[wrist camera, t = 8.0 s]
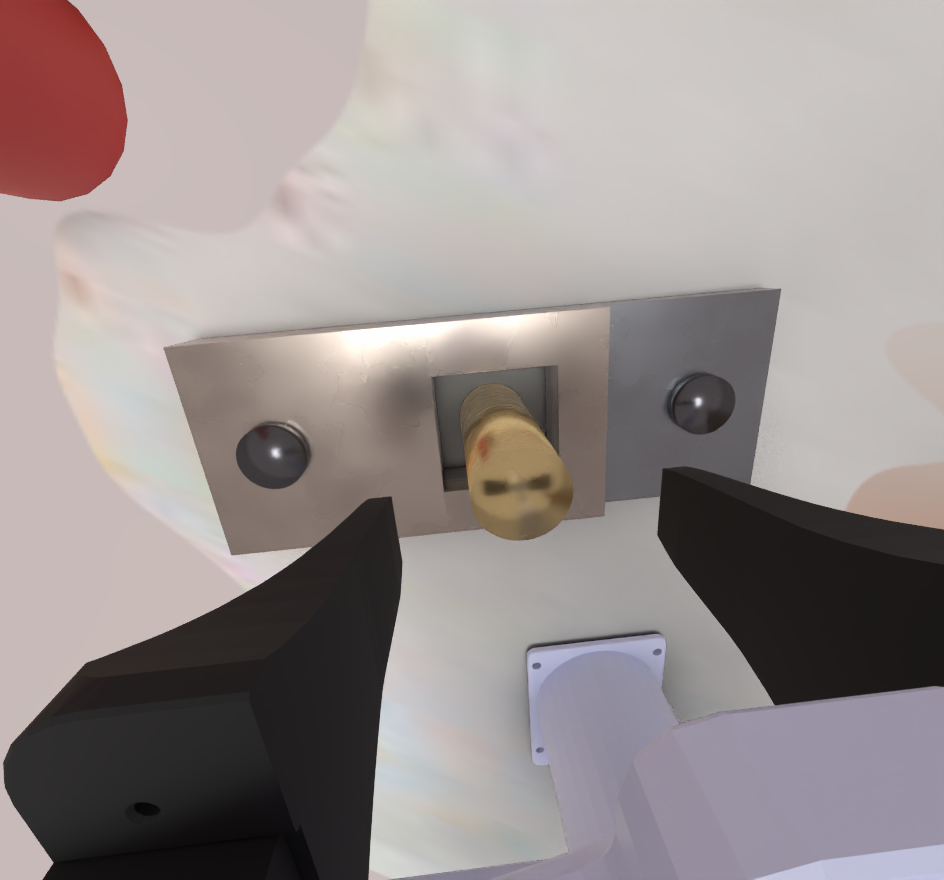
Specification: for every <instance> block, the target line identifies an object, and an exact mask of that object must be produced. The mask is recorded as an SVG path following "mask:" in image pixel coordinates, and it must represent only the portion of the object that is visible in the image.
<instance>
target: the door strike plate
mask: <svg viewBox="0 0 944 880" xmlns="http://www.w3.org/2000/svg"><path fill="white" fill-rule="evenodd" d="M780 293H781V289H771V288H758V289H746V290H735V291H724V292H713V293H702V294H691V295H680V296H669V297H658V298H647V299H636V300H624V301H613V302H602V303H591V304H580V305H569V306H558V307H547V308H536V309H525V310H514V311H502V312H491V313H480V314H469V315H458V316H447V317H436V318H425V319H414V320H403V321H392V322H380V323H369V324H358V325H347V326H336V327H325V328H314V329H303V330H292V331H281V332H270V333H259V334H247V335H236V336H225V337H214V338H203V339H196V340H192V341H188V342H184V343H180V344H176V345H172V346H168V347H164V351H165V354H166V357H167V360H168V363H169V366H170V369H171V372H172V375H173V378H174V381H175V384H176V387H177V390H178V393H179V396H180V400H181V403H182V406H183V409H184V412H185V415H186V418H187V421H188V424H189V427H190V430H191V433H192V436H193V439H194V442H195V445H196V448H197V451H198V454H199V457H200V461H201V464H202V467H203V470H204V473H205V476H206V479H207V482H208V485H209V488H210V491H211V494H212V497H213V500H214V503H215V506H216V509H217V512H218V515H219V518H220V522H221V525H222V528H223V531H224V534H225V537H226V540H227V543H228V546H229V549H230V552H231V555H240V554H249V553H259V552H268V551H277V550H287V549H296V548H306V547H313V546H315V545H316V544H317V543H318V542H320V541H321V540H322V539H323V538H325V537H326V536H327V535H328V534H329V533H330V532H332V531H333V530H334V529H335V528H336V527H337V526H338V525H339V524H340V523H341V522H343V521H344V520H345V519H346V518H347V517H348V516H349V515H350V514H351V513H352V512H353V511H354V510H356V509H357V508H358V507H359V506H360V505H361V504H362V503H363V502H364V501H366V500H367V499H370V498H380V497H389V496H392V502H393V508H394V514H395V521H396V527H397V533H398V538H400V537H410V536H419V535H429V534H438V533H448V532H457V531H467V530H476V529H485V528H484V527H483V526H482V525H481V524H480V523H479V522H478V520H477V519H476V517H475V515H474V513H473V510H472V506H471V501H470V493H469V485H468V477H467V469H466V467H460V468H450V469H444V467H443V459H442V450H441V441H440V433H439V424H438V415H437V406H436V398H435V389H434V380H433V377H436V376H446V375H457V374H467V373H478V372H489V371H499V370H510V369H520V368H531V367H542V366H545V390H546V433H547V439H548V441H549V442H550V444H551V445H552V447H553V448H554V450H555V451H556V453H557V454H558V456H559V457H560V459H561V460H562V462H563V463H564V465H565V466H566V468H567V469H568V471H569V473H570V475H571V478H572V482H573V500H572V503H571V506H570V508H569V511H568V513H567V514H566V516H565V517H564V519H563V520H571V519H580V518H589V517H599V516H604V507H605V502H610V501H620V500H629V499H639V498H648V497H658V496H660V495H661V482H662V469H663V468H672V467H682V466H687V467H693V468H697V469H701V470H705V471H708V472H712V473H715V474H718V475H721V476H725V477H728V478H731V479H734V480H737V481H740V482H743V483H746V484H749V485H750V482H751V476H752V469H753V463H754V457H755V450H756V444H757V438H758V432H759V425H760V419H761V413H762V406H763V400H764V394H765V388H766V381H767V375H768V369H769V362H770V356H771V350H772V343H773V337H774V331H775V325H776V318H777V312H778V306H779V299H780Z"/></svg>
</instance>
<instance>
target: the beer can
mask: <svg viewBox="0 0 944 880" xmlns="http://www.w3.org/2000/svg"><path fill="white" fill-rule="evenodd" d="M126 128H127V114H126V108H125V102H124V95H123V89H122V84H121V82H120V80H119V78H118V75H117V73H116V71H115V69H114V66H113V64H112V61H111V59H110V57H109V55H108V52H107V50H106V48H105V46H104V44H103V43H102V41H101V40H100V39H99V37H98V36H97V35H96V33H95V32H94V31H93V29H92V28H91V26H90V25H89V24H88V22H87V21H86V20H85V18H84V17H83V16H82V14H81V13H80V11H79V10H78V9H77V8H76V7H75V6H73V5H72V4H71V3H70V2H69V1H68V0H0V193H3V194H8V195H13V196H19V197H24V198H29V199H40V200H51V201H63V200H66V199H70V198H74V197H78V196H81V195H85V194H88V193H90V192H91V191H92V190H93V189H95V188H96V187H97V186H98V185H100V184H101V183H102V182H103V181H105V180H106V179H107V178H108V177H110V176H111V174H112V172H113V170H114V168H115V166H116V164H117V163H118V161H119V159H120V157H121V155H122V153H123V151H124V143H125V136H126Z"/></svg>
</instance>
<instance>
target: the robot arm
mask: <svg viewBox="0 0 944 880" xmlns="http://www.w3.org/2000/svg"><path fill="white" fill-rule="evenodd" d="M657 535H658V537H659V539H660V541H661V542H662V544H663V546H664V548H665V550H666V552H667V553H668V555H669V557H670V558H671V560H672V562H673V563H674V565H675V567H676V568H677V569H678V571H679V572H680V573H681V574H682V576H683V577H684V578H685V580H686V581H687V582H688V584H689V585H690V586H691V587H692V589H693V590H694V591H695V593H696V594H697V595H698V596H699V598H700V599H701V600H702V601H703V603H704V604H705V605H706V606H707V608H708V609H709V610H710V611H711V613H712V614H713V615H714V616H715V618H716V619H717V620H718V622H719V623H720V624H721V625H722V627H723V628H724V629H725V630H726V632H727V633H728V634H729V635H730V637H731V638H732V640H733V641H734V642H735V644H736V645H737V646H738V648H739V649H740V651H741V652H742V654H743V655H744V657H745V658H746V660H747V661H748V663H749V664H750V666H751V668H752V669H753V671H754V672H755V674H756V675H757V677H758V679H759V680H760V682H761V683H762V685H763V686H764V688H765V690H766V691H767V693H768V694H769V696H770V698H771V699H772V701H773V703H774V705H775V706H767V707H758V708H750V709H742V710H733V711H725V712H718V713H714V714H711V715H708V716H705V717H701V718H698V719H695V720H692V721H688V722H685V723H682V724H679V722H678V720H677V718H676V716H675V715H674V713H673V711H672V709H671V707H670V705H669V703H668V701H667V700H666V698H665V696H664V694H663V692H662V681H663V671H664V661H665V650H666V641H665V639H664V638H663V636H662V635H660V634H650V635H642V636H633V637H624V638H615V639H607V640H598V641H589V642H581V643H572V644H563V645H554V646H546V647H537V648H532V649H530V650H529V651H528V652H527V675H528V695H529V715H530V735H531V756H532V761H533V763H534V764H535V765H538V766H542V765H550V770H551V774H552V779H553V784H554V788H555V793H556V797H557V802H558V806H559V811H560V815H561V820H562V825H563V829H564V834H565V838H566V843H567V847H568V852H567V853H564V854H561V855H559V856H556V857H553V858H550V859H545V860H537V861H530V862H522V863H514V864H506V865H499V866H491V867H483V868H476V869H468V870H460V871H452V872H445V873H437V874H429V875H421V876H414V877H406V878H398V879H391V880H944V530H943V529H936V528H930V527H924V526H917V525H912V524H905V523H899V522H893V521H888V520H883V519H878V518H873V517H868V516H864V515H859V514H854V513H850V512H845V511H841V510H836V509H832V508H828V507H824V506H820V505H816V504H813V503H809V502H806V501H802V500H799V499H795V498H791V497H788V496H785V495H781V494H778V493H775V492H771V491H768V490H765V489H762V488H759V487H756V486H752V485H749V484H746V483H743V482H740V481H737V480H734V479H731V478H728V477H725V476H721V475H718V474H715V473H712V472H708V471H705V470H701V469H697V468H693V467H687V466H682V467H672V468H663V469H662V482H661V495H660V508H659V520H658V533H657ZM401 579H402V557H401V551H400V545H399V539H398V533H397V527H396V521H395V514H394V508H393V502H392V496H389V497H380V498H370V499H367V500H366V501H364V502H363V503H362V504H361V505H360V506H359V507H358V508H357V509H356V510H354V511H353V512H352V513H351V514H350V515H349V516H348V517H347V518H346V519H345V520H344V521H343V522H341V523H340V524H339V525H338V526H337V527H336V528H335V529H334V530H333V531H332V532H330V533H329V534H328V535H327V536H326V537H325V538H323V539H322V540H321V541H320V542H318V543H317V544H316V545H315V546H313V547H312V548H311V549H310V550H309V551H307V552H306V553H305V554H304V555H302V556H301V557H300V558H298V559H297V560H296V561H294V562H293V563H292V564H290V565H289V566H287V567H286V568H285V569H283V570H281V571H280V572H278V573H277V574H275V575H274V576H272V577H271V578H269V579H268V580H266V581H265V582H263V583H261V584H260V585H258V586H256V587H255V588H253V589H251V590H249V591H247V592H246V593H244V594H242V595H240V596H239V597H237V598H235V599H233V600H231V601H230V602H228V603H226V604H224V605H222V606H221V607H219V608H217V609H215V610H213V611H211V612H209V613H206V614H205V615H202V616H200V617H198V618H196V619H194V620H192V621H190V622H188V623H185V624H183V625H181V626H179V627H177V628H175V629H173V630H170V631H168V632H165V633H163V634H161V635H158V636H156V637H153V638H151V639H148V640H146V641H143V642H141V643H138V644H135V645H133V646H130V647H128V648H125V649H123V650H120V651H117V652H115V653H112V654H109V655H107V656H104V657H102V658H99V659H96V660H94V661H91V662H88V663H86V664H85V665H84V666H83V667H82V668H81V669H80V670H79V671H78V672H77V674H76V675H75V676H74V677H73V678H72V679H71V680H70V681H69V682H68V683H67V684H66V685H65V687H64V688H63V689H62V690H61V691H60V692H59V693H58V694H57V695H56V696H55V697H54V698H53V699H52V701H51V702H50V703H49V704H48V705H47V706H46V707H45V708H44V709H43V710H42V711H41V712H40V714H39V715H38V716H37V717H36V718H35V719H34V720H33V721H32V722H31V723H30V724H29V725H28V727H27V728H26V729H25V730H24V731H23V732H22V733H21V734H20V735H19V736H18V737H17V738H16V740H15V741H14V742H13V743H12V744H11V746H10V748H9V751H8V753H7V755H6V758H5V760H4V762H3V765H4V783H5V788H6V790H7V793H8V795H9V796H10V799H11V801H12V803H13V805H14V807H15V808H16V809H17V811H18V812H19V814H20V815H21V817H22V818H23V819H24V821H25V822H26V824H27V825H28V827H29V828H30V829H31V831H32V832H33V834H34V835H35V837H36V838H37V839H38V841H39V842H40V844H41V845H42V847H43V848H44V849H45V851H46V852H47V854H48V855H49V856H50V858H51V859H52V861H53V862H54V863H53V865H52V866H51V868H50V870H49V871H48V872H47V874H46V875H45V877H44V878H43V880H368V874H369V856H370V840H371V825H372V810H373V795H374V781H375V768H376V756H377V743H378V732H379V721H380V710H381V700H382V691H383V684H384V678H385V672H386V667H387V662H388V657H389V652H390V647H391V642H392V637H393V632H394V627H395V622H396V616H397V611H398V606H399V600H400V594H401ZM655 649H656V650H655ZM534 663H537V664H534Z"/></svg>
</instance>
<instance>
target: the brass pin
mask: <svg viewBox="0 0 944 880" xmlns="http://www.w3.org/2000/svg"><path fill="white" fill-rule="evenodd" d="M460 422H461V430H462V438H463V446H464V454H465V461H466V469H467V477H468V485H469V493H470V501H471V506H472V510H473V513H474V515H475V517H476V519H477V520H478V522H479V523H480V524H481V525H482V526H483V527H484V528H485V529H486V530H487V531H489V532H490V533H492V534H494V535H496V536H498V537H500V538H504V539H508V540H529V539H533V538H536V537H539V536H542V535H544V534H546V533H547V532H549V531H551V530H552V529H553V528H555V527H556V526H557V525H558V524H559V523H560V522H561V521H562V520H563V519H564V517H565V516H566V514H567V513H568V511H569V508H570V506H571V503H572V500H573V482H572V478H571V475H570V473H569V471H568V469H567V468H566V466H565V465H564V463H563V462H562V460H561V459H560V457H559V456H558V454H557V453H556V451H555V450H554V448H553V447H552V445H551V444H550V442H549V441H548V439H547V438H546V436H545V435H544V433H543V432H542V430H541V429H540V427H539V426H538V424H537V423H536V421H535V420H534V418H533V416H532V415H531V413H530V412H529V410H528V409H527V407H526V406H525V404H524V403H523V401H522V400H521V398H520V397H519V395H518V394H517V393H516V392H515V391H514V390H512V389H511V388H509V387H507V386H505V385H502V384H494V383H492V384H485V385H482V386H479V387H477V388H476V389H474V390H473V391H472V392H470V393H469V394H468V396H467V397H466V398H465V400H464V401H463V404H462V406H461V410H460Z"/></svg>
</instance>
